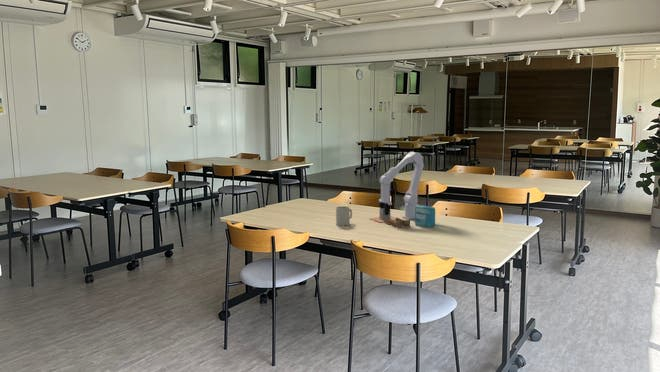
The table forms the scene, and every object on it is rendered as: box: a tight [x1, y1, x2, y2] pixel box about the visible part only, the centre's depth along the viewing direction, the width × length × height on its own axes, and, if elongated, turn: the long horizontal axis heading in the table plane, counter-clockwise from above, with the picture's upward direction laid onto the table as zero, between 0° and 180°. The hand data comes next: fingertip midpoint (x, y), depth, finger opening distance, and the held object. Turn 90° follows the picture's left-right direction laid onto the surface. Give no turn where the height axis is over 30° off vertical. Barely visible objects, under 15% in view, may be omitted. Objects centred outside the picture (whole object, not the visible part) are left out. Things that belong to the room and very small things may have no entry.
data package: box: [414, 205, 436, 228], centre depth 323 cm, size 12×4×12 cm, turn 49°
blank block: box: [379, 207, 391, 220], centre depth 342 cm, size 6×4×7 cm, turn 112°
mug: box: [335, 205, 353, 227], centre depth 331 cm, size 12×8×11 cm
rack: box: [383, 217, 411, 228], centre depth 328 cm, size 10×16×4 cm, turn 22°
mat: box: [369, 215, 397, 224], centre depth 343 cm, size 16×13×1 cm
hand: (385, 214), depth 342 cm, fingers open, 4 cm apart
